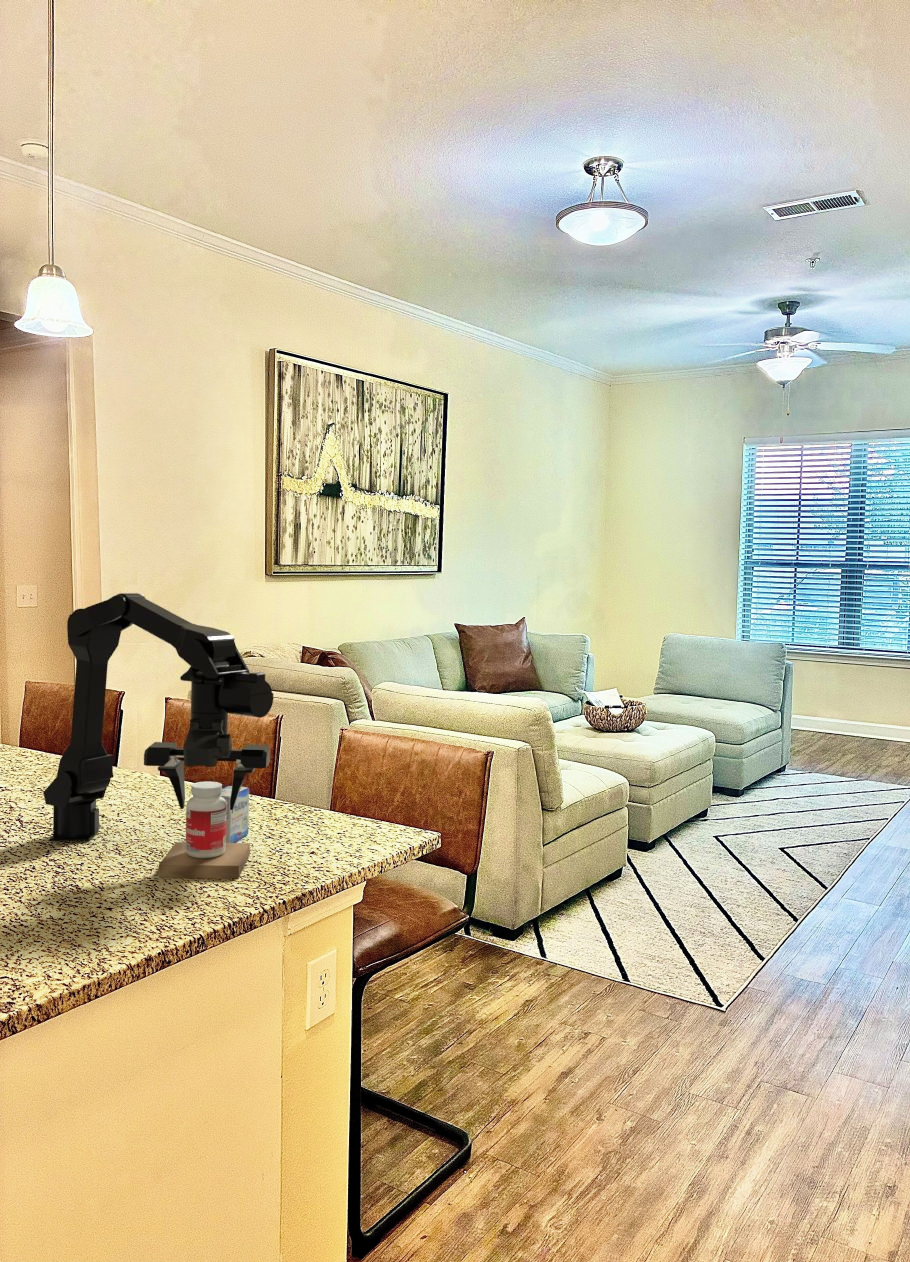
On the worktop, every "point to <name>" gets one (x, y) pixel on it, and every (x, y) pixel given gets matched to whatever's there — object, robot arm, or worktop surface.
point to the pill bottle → (206, 821)
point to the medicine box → (236, 814)
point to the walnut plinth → (205, 863)
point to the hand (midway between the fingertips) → (207, 809)
